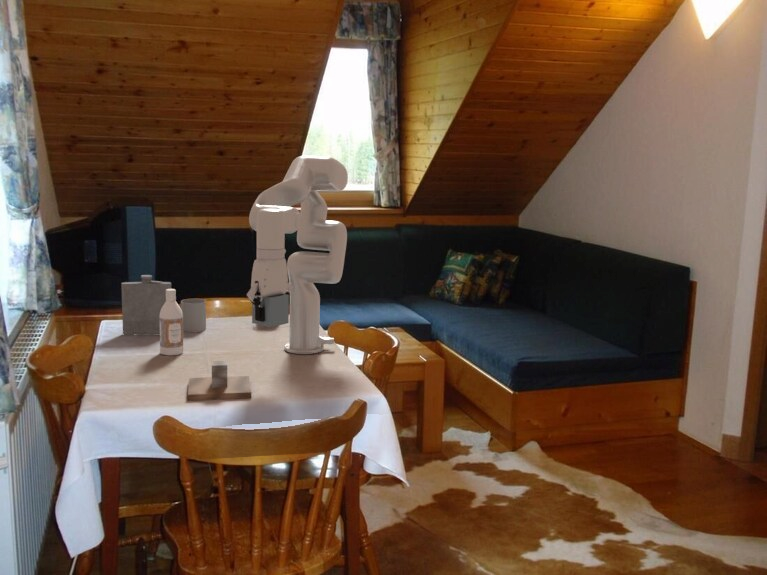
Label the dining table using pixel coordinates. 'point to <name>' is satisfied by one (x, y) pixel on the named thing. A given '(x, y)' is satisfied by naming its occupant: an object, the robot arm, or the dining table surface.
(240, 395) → the base
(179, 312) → the bath foam
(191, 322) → the cup
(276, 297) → the duct sleeve
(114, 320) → the dining table surface
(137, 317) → the hip flask
